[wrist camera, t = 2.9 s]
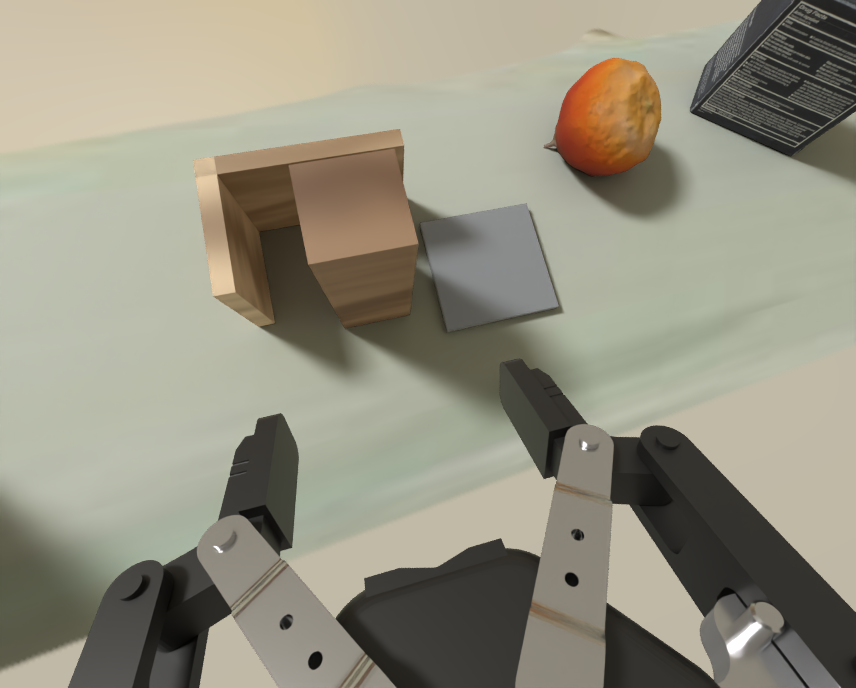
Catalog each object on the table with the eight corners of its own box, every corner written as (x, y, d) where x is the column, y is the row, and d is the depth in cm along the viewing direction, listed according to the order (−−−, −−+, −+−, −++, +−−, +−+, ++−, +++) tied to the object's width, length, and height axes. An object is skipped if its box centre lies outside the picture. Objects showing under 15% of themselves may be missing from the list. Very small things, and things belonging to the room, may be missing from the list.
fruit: (556, 73, 33) (650, 13, 26) (599, 145, 36) (690, 110, 30) (512, 139, 31) (600, 94, 24) (562, 208, 35) (649, 186, 28)
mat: (447, 332, 29) (447, 330, 28) (419, 226, 30) (420, 222, 30) (555, 308, 30) (558, 306, 29) (524, 207, 31) (526, 203, 31)
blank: (409, 314, 29) (418, 243, 17) (344, 328, 28) (308, 264, 17) (395, 255, 30) (394, 148, 18) (332, 267, 29) (288, 165, 17)
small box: (804, 106, 36) (966, -18, 26) (791, 159, 35) (956, 51, 25) (704, 61, 36) (825, -80, 26) (686, 113, 35) (807, -15, 25)
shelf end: (424, 292, 29) (432, 254, 22) (258, 326, 28) (213, 296, 21) (399, 193, 31) (399, 129, 24) (240, 220, 29) (193, 159, 22)
